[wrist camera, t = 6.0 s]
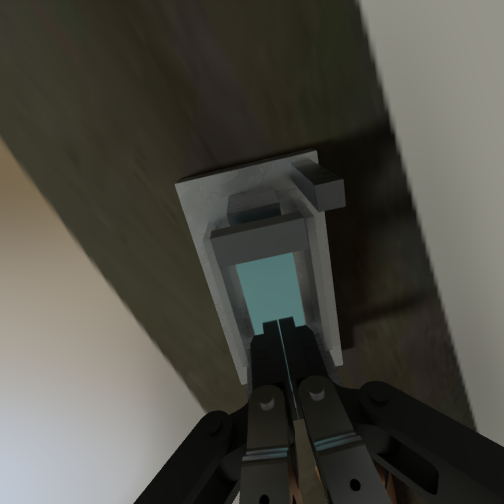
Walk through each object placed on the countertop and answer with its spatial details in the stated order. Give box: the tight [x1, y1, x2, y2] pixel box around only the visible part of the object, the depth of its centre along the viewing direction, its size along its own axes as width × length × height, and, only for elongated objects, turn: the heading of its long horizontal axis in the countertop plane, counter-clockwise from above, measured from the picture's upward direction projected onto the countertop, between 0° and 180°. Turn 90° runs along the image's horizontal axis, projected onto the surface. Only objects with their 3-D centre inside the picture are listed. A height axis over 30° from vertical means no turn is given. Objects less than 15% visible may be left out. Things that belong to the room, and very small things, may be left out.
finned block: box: [175, 148, 346, 401], centre depth 19 cm, size 18×9×8 cm, turn 13°
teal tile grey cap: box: [210, 211, 309, 408], centre depth 17 cm, size 14×4×2 cm, turn 13°
